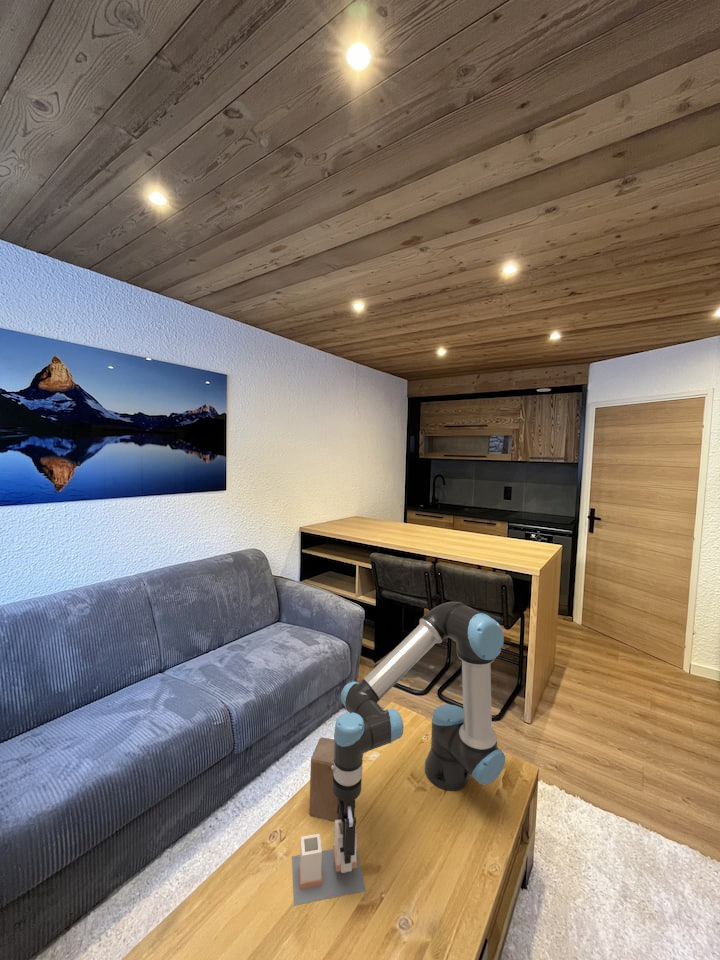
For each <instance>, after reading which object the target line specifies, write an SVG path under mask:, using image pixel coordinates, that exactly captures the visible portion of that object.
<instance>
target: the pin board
mask: <svg viewBox="0 0 720 960" xmlns="http://www.w3.org/2000/svg"><path fill="white" fill-rule="evenodd" d="M356 859H357V868H353V869H352V871H349V872H344V873H341V871H338V872H336V867H335V860H334V854H333V848H330V849H325V850H322V864H321V874H322V886H317V887H312V888H307V889H302V890H300V875H299V862H300V854H297V855H293V856H291V862H292V863H291V867H292V869H291V871H292V889H293V890H292V893H293V894H292V895H293V906H299V905H305V904H309V903H314V902H319V901H323V900H329V899H334V898H338V897H339V898H340V897H344V896H349V895H353V894H357V893H362V892H366V886H365V885H366V884H365V881H364V876H363V870H362V865H361V862H360V857H359V852H358V850H357V851H356Z"/></svg>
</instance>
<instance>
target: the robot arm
mask: <svg viewBox="0 0 720 960" xmlns="http://www.w3.org/2000/svg"><path fill="white" fill-rule="evenodd" d="M448 638H449V639H451V640H452V641H454V642H455V643H456V645H455V646H456V655H457V657H458V659H459V660H461V676H462V679H461V680H462V681H461V682H462V707H460V706H458V705H455V704H442V705H439V706H437V707H435V708H434V710H433V712H432V718H431V738H430V739H431V743H430V744H431V745H430V748H429V749H430V750H429V752H428V754H427V757H426V759H425V763H424V771H425V775H426V777H427V778H428V780H429V781H430V782H431V783H432V784H433V785H435V786H436V787H438V788H440V789H442V790H445V791H453V792H454V791H458V790H462V789H464V787H466V786H467V784H468V782H469V776H470V777H471V778H472V779H474V780H475V781H477V783H479V784H481V785H483V786H485V785H487V786H488V785H489V784H490V785H491V783H493V782H494V781H495V780H497V779H498V777H499V776H500V775H501V773H502V771H503V770H504V768H505V764H506V755H505V753H504V751H503V750H502V749H501V748H499V747H498V736H497V733H496V731H495V730H494V728H493V727H492V720H493V719H492V676H491V675H492V673H491V671H492V670H491V668H492V667H491V664H492V663H493V662H495V659H496V658H497V657H499V655H500V653H501V652H502V649H501V648H503V647H504V642H505V637H504V631H503V628H502V626H501V625H500V623H499V622H498V621H496V620H495V619H494V618H492V617H491V616H490V615H488V614H486V613H483V612H480V611H478V610H477V609H474V608H472V607H470V606H468V605H466V604H465V603H462V602H459V601H448V602H447V601H446V602H444V603H441V604H439V605H437V606H435V607H433V608H431V610H429V611H428V612H426V613H425V614H424V615H423V616H422V617H421V618H419V624H418V625H417V626H416V628H414V629H413V630H412V631H411V632H410V633H409V634H408V635H407V636H406V637H405V638H404V639H403V640H402V641H401V642H400V643H399V644H398V645H397V646H396V647H395V648H394V649H392V651H391V652H389V654H387V655H386V657H384V659H383V660H381V661H380V662H379V663H378V664H377V665H376V666H375V667H374V668H373V669H372V670H371V671H369V673H368V674H367V675H366V676H364V678H363V679H362V680H361V681H360V682H358V681H351V682H348V683H346V685H344V687H343V688H342V690H341V692H340V701H341V703H342V704H343V707H345V709H346V711H347V712H344V713H342V714H340V715H339V716H338V717H337V719H336V720H335V726H334V734H333V739H334V765H332V766H331V769H332V770H333V793H334V795H335V796H336V797H337V798H338V799H337V815H338V820H340V819H341V821H342V822H343V846H342V848H340V853H341V873H344V872H349V871H352V855H355V828H356V825H357V818H356V817H355V809H356V799H357V798H358V797H359V796H360V794H361V792H362V781H363V779H362V777H363V761H364V760H363V757H364V754H365V753H367V752H370V751H372V750H375V749H378V748H381V747H383V746H386V745H389V744H392V743H393V742H396V741H397V740H399V739H401V738H402V736H403V735H404V721H403V718H402V716H401V714H400V712H399V711H398V710H397V709H395V708H387V709H385V710H384V709H383V707H382V706H381V705H380V704H379V703H378V702H380V700H381V699H383V697H384V696H385V695H386V694H387V693H388V692H389V691H391V689H392V688H394V686H395V685H396V684H397V683H398V682H399V681H400V680H401V679H402V678H403V677H404V676H405V675H406V674H407V673H408V672H409V671H410V670H411V669H412V668H413V667H414V665H416V664H417V663H418V662H419V661H420V660H421V658H423V656H425V655H426V653H428V652H429V651H430V650H431V649H432V648H433V646H435V644H441V643H442V642H443V641H444V640H445V639H448Z"/></svg>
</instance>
